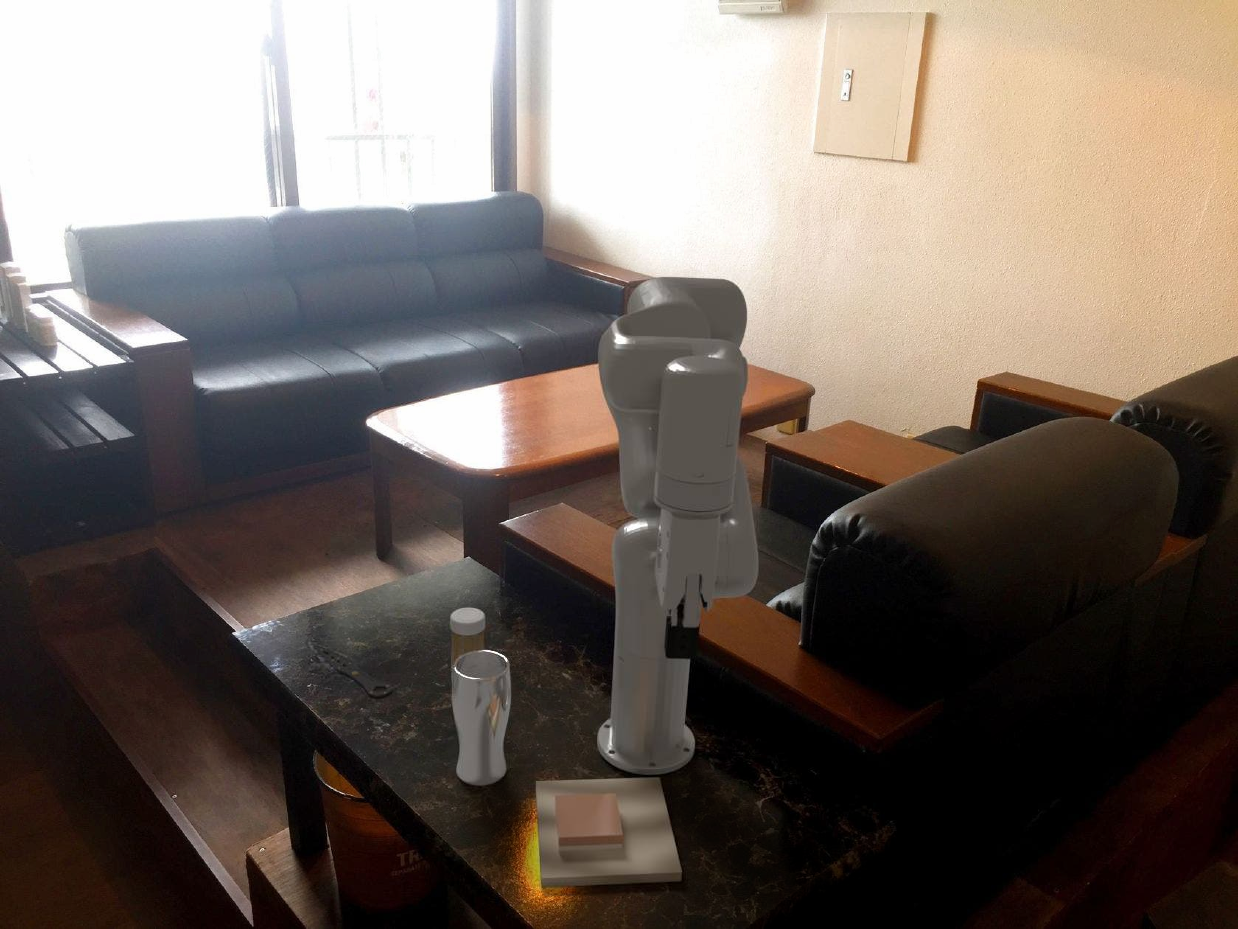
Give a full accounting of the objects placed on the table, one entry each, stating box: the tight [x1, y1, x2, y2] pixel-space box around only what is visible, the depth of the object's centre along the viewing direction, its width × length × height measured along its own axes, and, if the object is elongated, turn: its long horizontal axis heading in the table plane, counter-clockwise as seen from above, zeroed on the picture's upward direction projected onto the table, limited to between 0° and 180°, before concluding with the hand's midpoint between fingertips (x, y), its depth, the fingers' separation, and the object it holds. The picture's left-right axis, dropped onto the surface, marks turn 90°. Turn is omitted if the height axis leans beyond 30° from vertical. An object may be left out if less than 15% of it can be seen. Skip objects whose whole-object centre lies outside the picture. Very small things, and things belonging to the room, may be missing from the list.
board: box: [535, 776, 683, 888], centre depth 116 cm, size 16×15×1 cm
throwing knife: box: [306, 640, 394, 699], centre depth 146 cm, size 4×20×1 cm, turn 48°
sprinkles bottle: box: [449, 607, 486, 703], centre depth 137 cm, size 5×5×13 cm
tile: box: [555, 794, 623, 851], centre depth 115 cm, size 2×7×7 cm
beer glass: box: [451, 649, 512, 787], centre depth 123 cm, size 7×7×15 cm
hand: (680, 654), depth 104 cm, fingers closed
